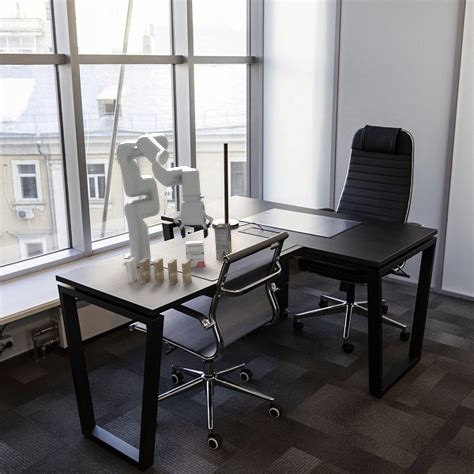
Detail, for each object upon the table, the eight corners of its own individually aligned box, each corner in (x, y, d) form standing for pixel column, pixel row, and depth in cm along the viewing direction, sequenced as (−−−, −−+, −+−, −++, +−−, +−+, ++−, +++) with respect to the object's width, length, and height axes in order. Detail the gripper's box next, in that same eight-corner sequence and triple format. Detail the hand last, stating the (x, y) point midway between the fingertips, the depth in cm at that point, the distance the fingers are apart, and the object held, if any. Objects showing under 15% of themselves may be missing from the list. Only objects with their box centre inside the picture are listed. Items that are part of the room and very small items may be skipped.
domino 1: (141, 283, 263) (139, 261, 260) (146, 278, 269) (144, 257, 266) (145, 283, 262) (143, 262, 260) (150, 279, 268) (149, 257, 265)
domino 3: (169, 284, 260) (167, 263, 257) (173, 280, 265) (172, 258, 263) (173, 284, 259) (171, 263, 257) (178, 280, 265) (176, 258, 262)
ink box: (204, 263, 287) (203, 239, 284) (204, 266, 282) (203, 242, 279) (186, 264, 286) (185, 241, 283) (186, 267, 281) (185, 244, 278)
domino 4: (183, 285, 258) (181, 263, 256) (187, 280, 264) (186, 259, 261) (187, 285, 258) (186, 263, 255) (191, 280, 263) (190, 259, 261)
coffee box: (219, 253, 301) (218, 223, 296) (232, 254, 299) (230, 223, 295) (216, 259, 292) (214, 228, 287) (228, 259, 291) (227, 228, 286)
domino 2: (155, 284, 261) (153, 262, 259) (160, 279, 267) (158, 258, 264) (159, 284, 261) (157, 262, 258) (164, 279, 266) (162, 258, 264)
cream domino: (128, 282, 265) (125, 261, 262) (133, 278, 270) (131, 257, 268) (132, 282, 264) (130, 261, 261) (137, 278, 270) (135, 257, 267)
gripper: (213, 196, 251) (216, 235, 255) (175, 196, 255) (178, 235, 259) (209, 199, 244) (212, 240, 248) (169, 200, 248) (172, 239, 252)
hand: (194, 237), depth 254 cm, fingers open, 9 cm apart
